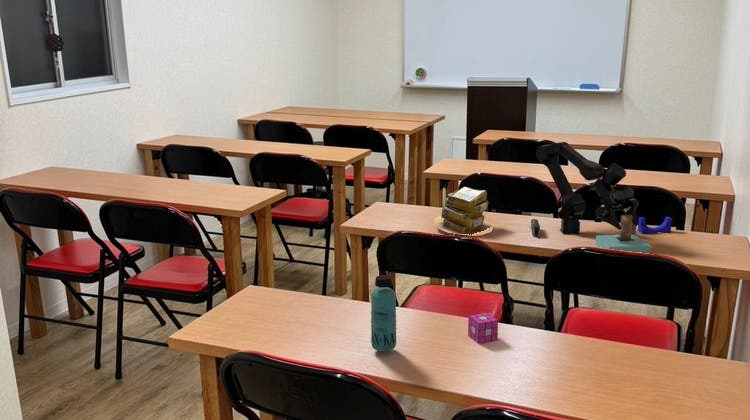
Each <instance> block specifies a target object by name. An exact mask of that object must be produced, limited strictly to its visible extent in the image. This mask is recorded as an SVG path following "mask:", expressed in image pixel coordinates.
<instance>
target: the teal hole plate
mask: <svg viewBox="0 0 750 420" xmlns="http://www.w3.org/2000/svg"><path fill="white" fill-rule="evenodd" d="M619 239H620V234H609V235H608V234H606V235H605V234H604V235H595V245H596V246H597V247H598V248H599V247H601V248H606V249H614V250H623V251H632V252H642V253H650V254H651V245H650V244H648V243H647V242H646V241H644V240H643V239H642V238H640V237H639V236H638V235H637V234H636V235H631V241H619Z"/></svg>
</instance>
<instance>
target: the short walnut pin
mask: <svg viewBox="0 0 750 420" xmlns="http://www.w3.org/2000/svg"><path fill="white" fill-rule="evenodd" d="M631 235H636V236H637V226H635V225H634V224H633V223H632V232H631Z"/></svg>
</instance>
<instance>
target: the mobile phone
mask: <svg viewBox="0 0 750 420" xmlns="http://www.w3.org/2000/svg"><path fill="white" fill-rule="evenodd" d="M530 230H531V235H532V236H533V237H537V239H540V231H541V224H540V222H539V220H538V219H537V218H536V219H535V218H532V219H531V220H530Z"/></svg>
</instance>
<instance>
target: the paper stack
mask: <svg viewBox="0 0 750 420" xmlns="http://www.w3.org/2000/svg"><path fill="white" fill-rule="evenodd" d="M487 195H488V193H487V190H485V189H484V190H480V189H479V190H478V189H474V188H471V187H467V186H464V187H462V188H459V189H457V190H455V191H453V192H451V193H448V195H447V198H445V204H441V206H442V209H441V215H439V216H437V217H435V218H434V219H433V224H434V226H435V227H436V228H437V229H439V230H441V231H443V232H446V233H448V234H451V233H453V234H452V235H455V234H469V235H470V234H471V236H470V237H474V236H472V234H474V233H477V232H481V231H484V230H486V229H487V228H490V227H492V226H493V225H492V224H491V223H490V222H489V221H486V220H485V215H483V214H484V211H485V210H486V209H487V208H488V207H489V200H487V197H488V196H487ZM454 233H455V234H454Z"/></svg>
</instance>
